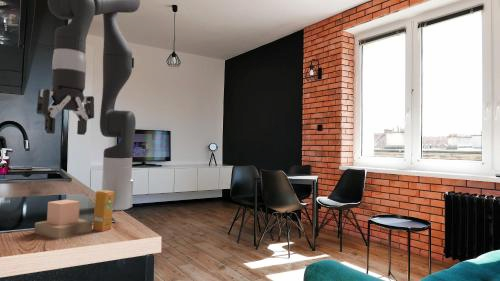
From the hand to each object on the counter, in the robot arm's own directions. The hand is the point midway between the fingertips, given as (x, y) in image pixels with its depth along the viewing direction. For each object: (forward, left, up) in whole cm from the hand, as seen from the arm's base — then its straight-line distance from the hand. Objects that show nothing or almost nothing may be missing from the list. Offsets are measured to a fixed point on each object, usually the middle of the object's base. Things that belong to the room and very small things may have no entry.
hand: (66, 134), depth 88 cm
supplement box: (-6, +7, -25) cm, 26 cm away
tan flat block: (+1, +2, -25) cm, 25 cm away
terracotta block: (+1, +2, -22) cm, 22 cm away
